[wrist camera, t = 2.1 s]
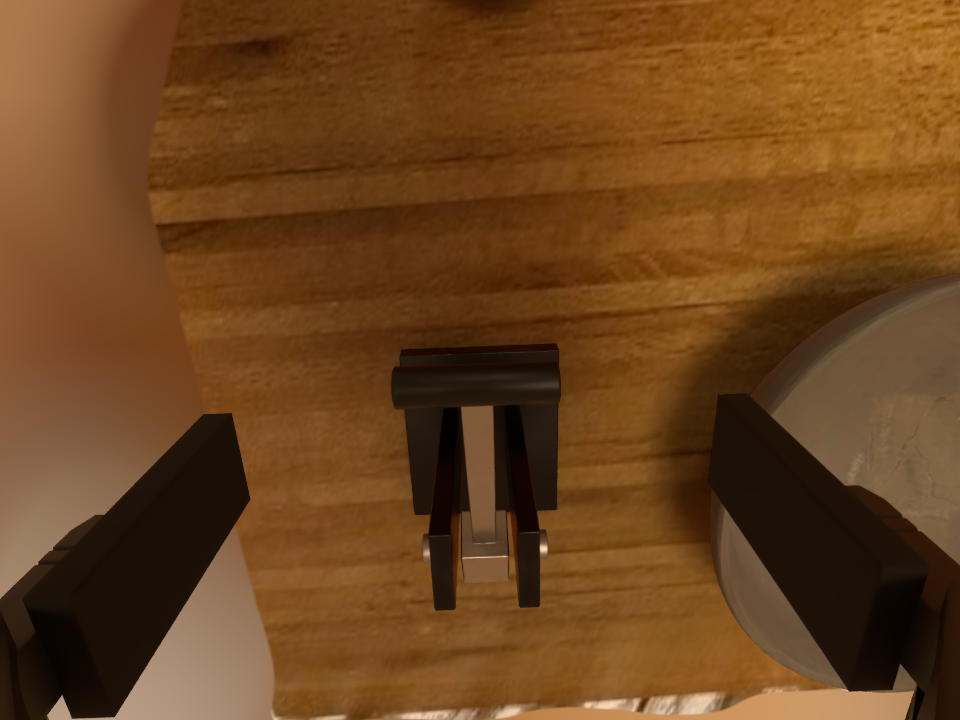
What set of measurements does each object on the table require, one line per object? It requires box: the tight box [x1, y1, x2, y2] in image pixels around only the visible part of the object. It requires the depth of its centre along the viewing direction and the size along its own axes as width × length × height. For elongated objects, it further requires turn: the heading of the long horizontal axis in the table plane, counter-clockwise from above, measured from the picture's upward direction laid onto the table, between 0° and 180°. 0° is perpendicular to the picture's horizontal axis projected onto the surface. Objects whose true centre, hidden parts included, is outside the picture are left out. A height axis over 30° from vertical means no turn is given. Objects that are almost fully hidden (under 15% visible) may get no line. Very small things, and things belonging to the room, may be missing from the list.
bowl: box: [710, 273, 960, 693], centre depth 35 cm, size 26×26×10 cm
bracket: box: [400, 344, 559, 611], centre depth 33 cm, size 12×10×14 cm
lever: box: [391, 361, 561, 583], centre depth 24 cm, size 14×6×2 cm, turn 2°
